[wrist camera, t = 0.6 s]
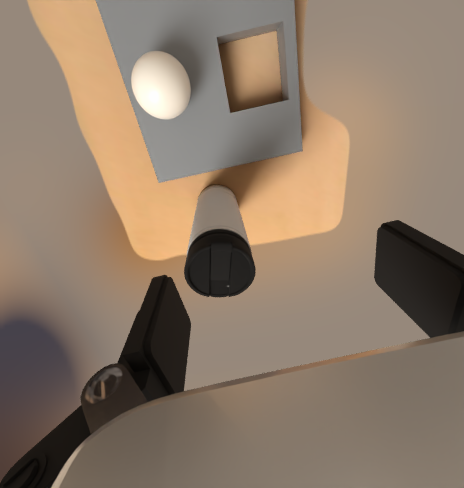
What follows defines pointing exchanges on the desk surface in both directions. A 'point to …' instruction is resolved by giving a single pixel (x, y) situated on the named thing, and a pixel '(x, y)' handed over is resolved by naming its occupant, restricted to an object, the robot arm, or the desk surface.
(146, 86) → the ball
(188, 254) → the travel mug
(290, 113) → the plate
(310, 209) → the desk surface
